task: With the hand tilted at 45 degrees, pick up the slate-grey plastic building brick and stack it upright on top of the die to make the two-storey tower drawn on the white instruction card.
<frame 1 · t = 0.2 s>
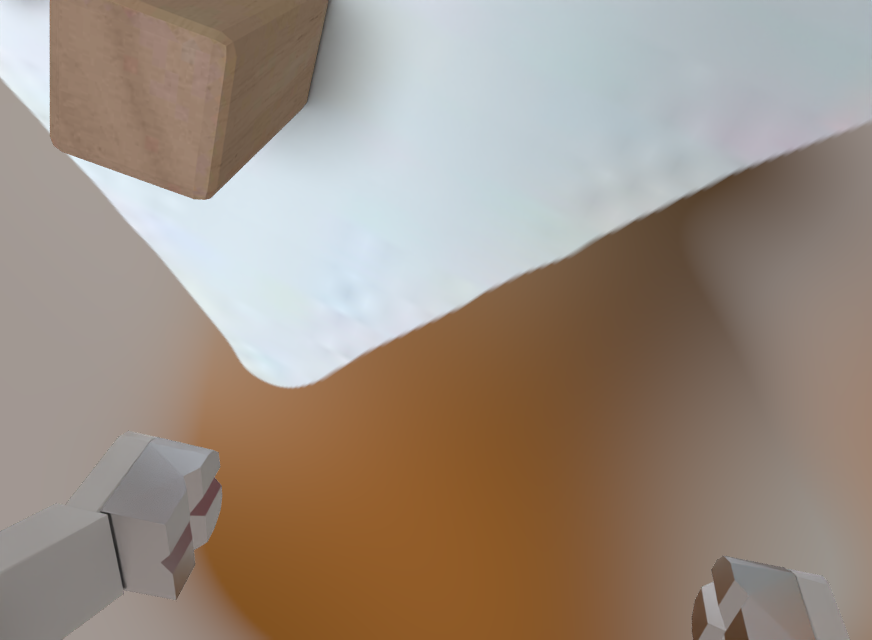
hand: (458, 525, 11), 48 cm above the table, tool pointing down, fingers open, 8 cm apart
block: (260, 27, 55), on the table
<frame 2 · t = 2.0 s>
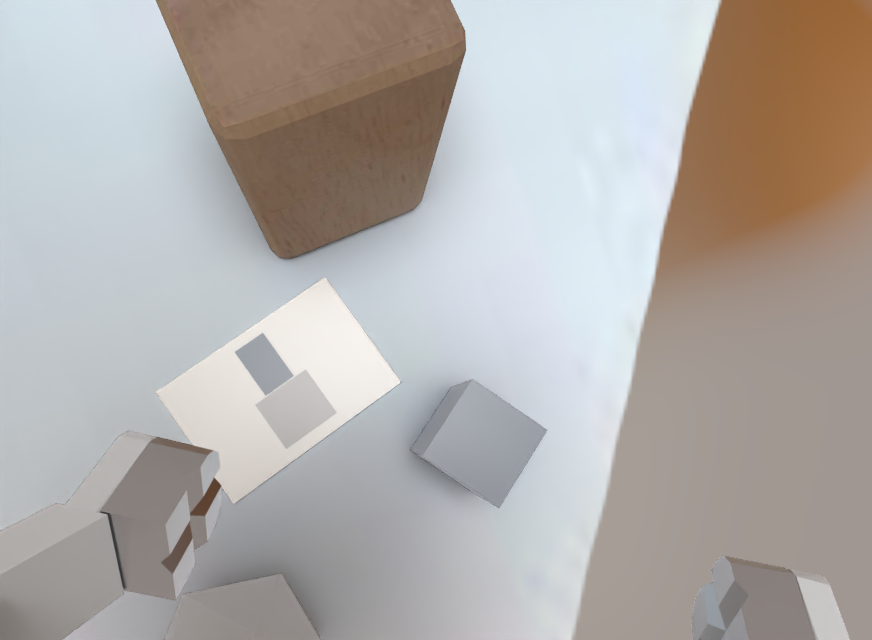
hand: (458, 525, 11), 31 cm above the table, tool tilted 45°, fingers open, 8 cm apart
instruction card: (281, 387, 42), on the table
block: (322, 167, 44), on the table
brick: (461, 439, 43), on the table
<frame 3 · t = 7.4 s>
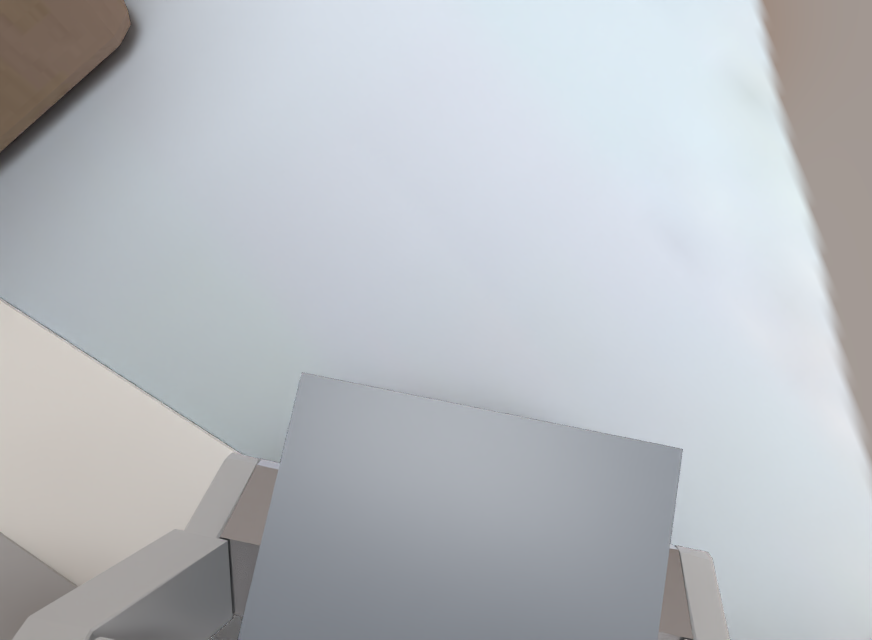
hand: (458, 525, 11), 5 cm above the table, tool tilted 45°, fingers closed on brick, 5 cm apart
brick: (451, 534, 16), on the table, touching gripper
when the fingers open (14 cm above the table, at t = 13.2 s): brick drops 2 cm, resting on die.
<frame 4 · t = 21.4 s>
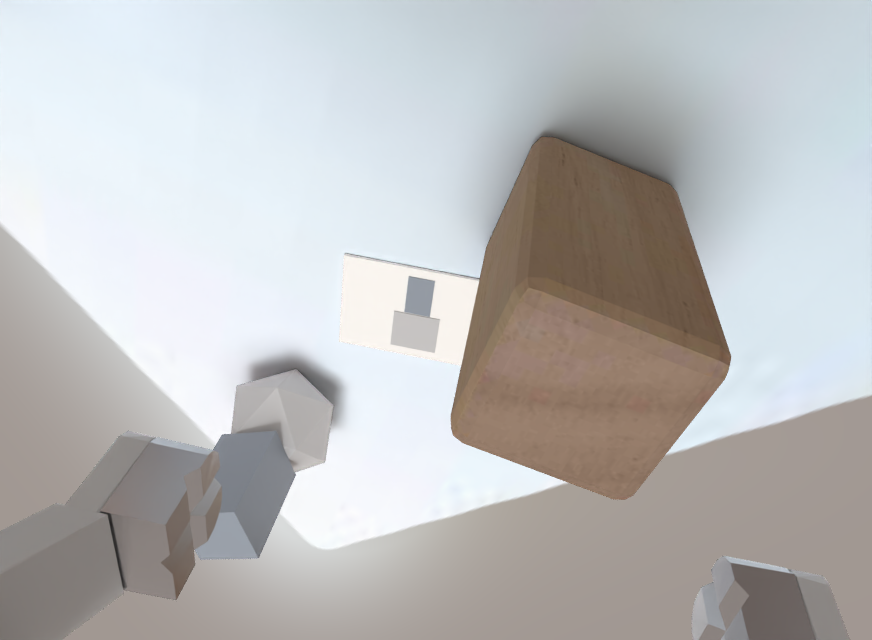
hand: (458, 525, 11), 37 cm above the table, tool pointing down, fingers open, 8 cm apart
instruction card: (417, 312, 54), on the table
block: (576, 218, 48), on the table
brick: (259, 454, 54), point 8 cm above the table, touching die
die: (296, 393, 61), on the table, touching brick
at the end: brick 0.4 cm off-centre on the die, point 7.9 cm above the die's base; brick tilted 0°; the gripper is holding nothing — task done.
